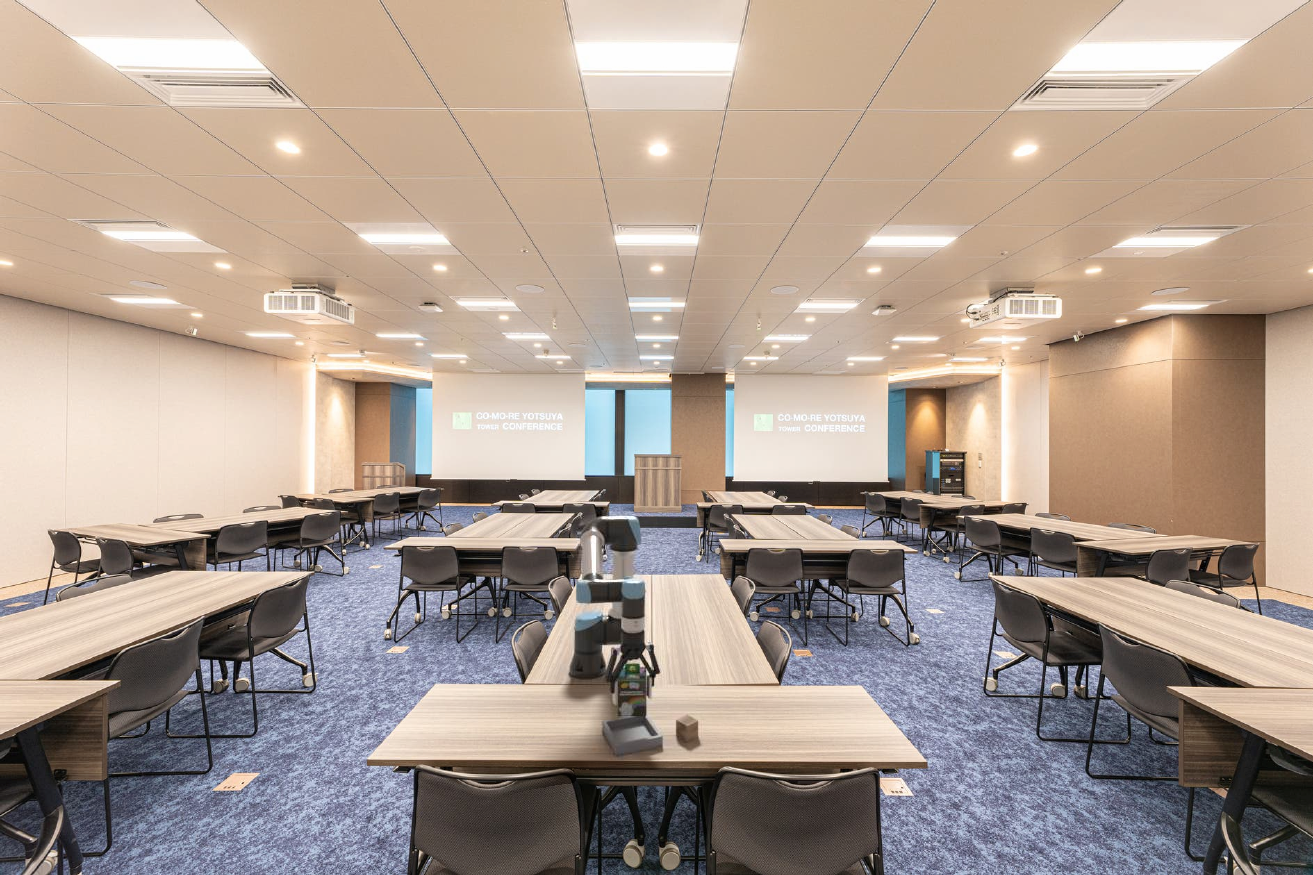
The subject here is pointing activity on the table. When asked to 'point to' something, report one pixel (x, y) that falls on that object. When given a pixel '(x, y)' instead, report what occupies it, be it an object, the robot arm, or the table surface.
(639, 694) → the chalk box
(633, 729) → the tray
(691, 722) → the walnut block
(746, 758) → the table surface
